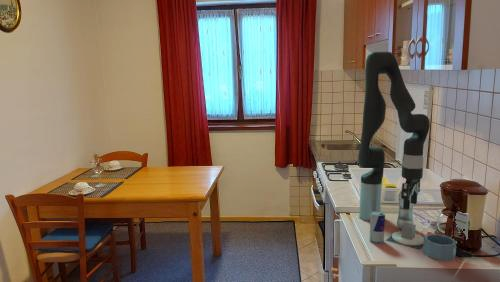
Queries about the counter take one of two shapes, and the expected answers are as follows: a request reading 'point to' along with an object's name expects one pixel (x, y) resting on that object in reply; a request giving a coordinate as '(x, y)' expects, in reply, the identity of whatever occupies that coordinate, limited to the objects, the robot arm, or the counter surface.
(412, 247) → the mat
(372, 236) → the energy drink
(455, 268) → the counter surface
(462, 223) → the syrup box
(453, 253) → the bowl
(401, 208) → the plastic bottle
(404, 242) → the lid
